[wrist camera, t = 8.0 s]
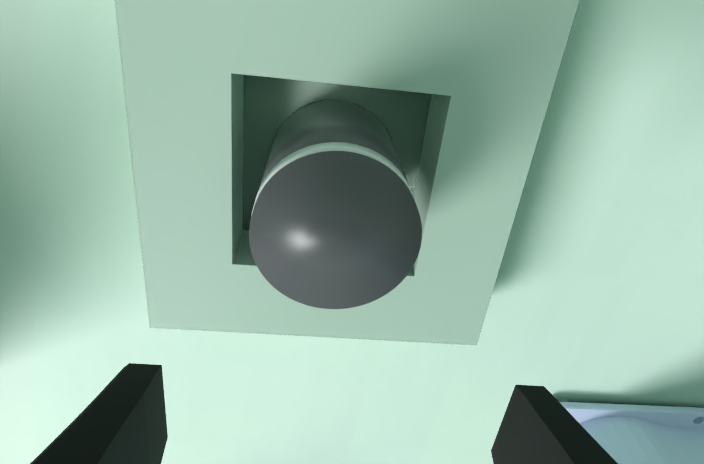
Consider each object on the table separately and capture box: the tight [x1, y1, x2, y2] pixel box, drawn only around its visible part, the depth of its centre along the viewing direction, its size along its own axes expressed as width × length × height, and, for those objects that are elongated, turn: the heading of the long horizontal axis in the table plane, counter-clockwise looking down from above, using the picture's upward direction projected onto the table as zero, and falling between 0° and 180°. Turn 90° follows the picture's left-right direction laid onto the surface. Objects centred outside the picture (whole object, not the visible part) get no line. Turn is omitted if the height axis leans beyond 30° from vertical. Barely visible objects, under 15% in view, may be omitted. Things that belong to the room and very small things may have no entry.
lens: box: [249, 100, 422, 309], centre depth 15 cm, size 4×4×6 cm
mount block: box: [115, 0, 579, 345], centre depth 16 cm, size 12×12×2 cm
